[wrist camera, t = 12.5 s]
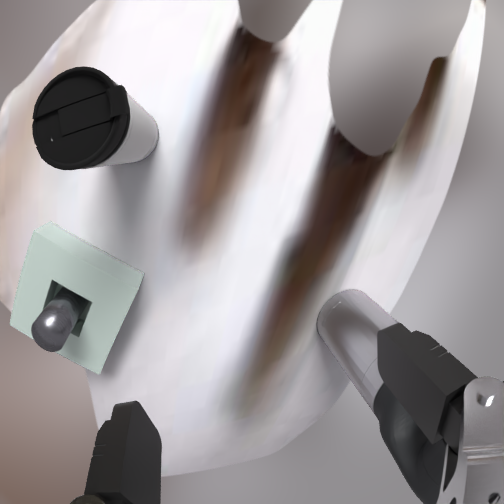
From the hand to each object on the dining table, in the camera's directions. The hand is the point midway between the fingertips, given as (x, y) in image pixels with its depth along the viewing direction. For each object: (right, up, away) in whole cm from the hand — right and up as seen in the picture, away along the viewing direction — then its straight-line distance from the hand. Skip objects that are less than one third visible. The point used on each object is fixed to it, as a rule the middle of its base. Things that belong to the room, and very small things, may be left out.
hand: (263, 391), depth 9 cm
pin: (-23, -1, +26) cm, 35 cm away
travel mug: (-14, +18, +24) cm, 33 cm away
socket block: (-23, -1, +27) cm, 36 cm away
